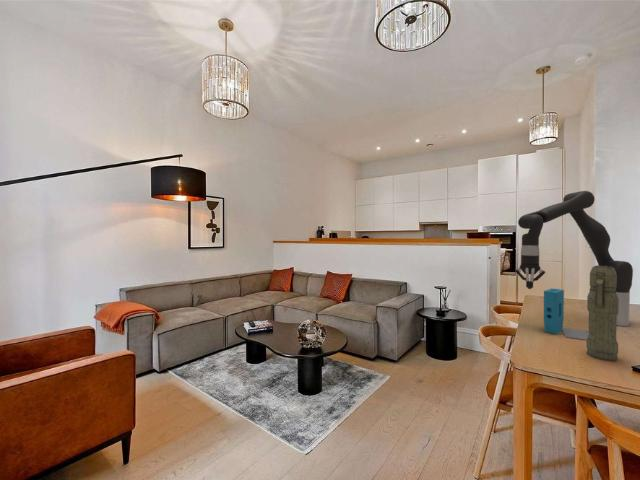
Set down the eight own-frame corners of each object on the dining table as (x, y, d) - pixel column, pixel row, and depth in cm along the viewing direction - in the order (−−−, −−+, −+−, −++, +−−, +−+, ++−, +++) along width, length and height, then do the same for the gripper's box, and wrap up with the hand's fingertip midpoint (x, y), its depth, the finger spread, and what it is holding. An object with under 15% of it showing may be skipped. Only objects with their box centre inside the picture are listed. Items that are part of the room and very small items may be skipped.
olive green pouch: (585, 357, 114) (586, 266, 113) (587, 348, 122) (588, 264, 121) (617, 364, 107) (619, 268, 107) (618, 355, 116) (619, 265, 115)
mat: (561, 328, 149) (561, 327, 149) (602, 333, 140) (602, 332, 140) (565, 337, 135) (566, 336, 135) (612, 344, 127) (612, 343, 127)
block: (555, 335, 138) (556, 292, 138) (542, 332, 142) (543, 291, 142) (563, 330, 145) (564, 289, 145) (551, 327, 149) (552, 288, 149)
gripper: (545, 254, 148) (545, 288, 148) (514, 253, 155) (513, 286, 156) (547, 255, 142) (546, 291, 142) (514, 254, 149) (513, 288, 149)
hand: (529, 288), depth 149 cm, fingers closed
